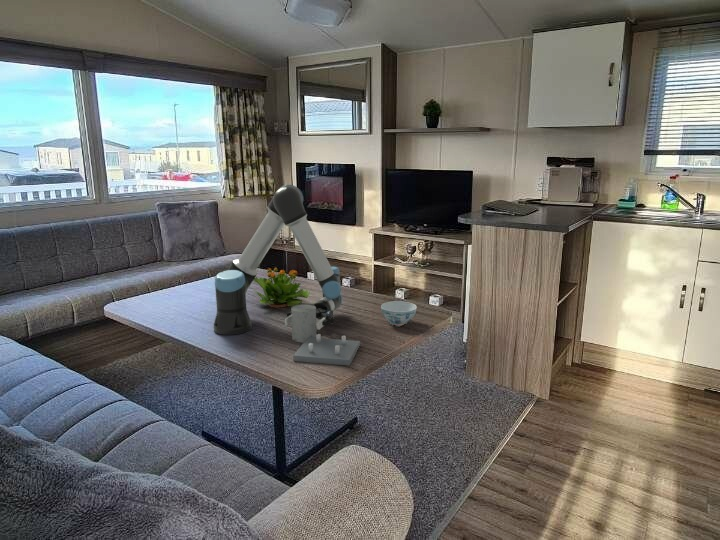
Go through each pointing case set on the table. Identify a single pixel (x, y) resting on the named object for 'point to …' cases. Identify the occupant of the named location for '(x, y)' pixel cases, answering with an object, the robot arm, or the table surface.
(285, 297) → the potted flower
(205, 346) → the table surface
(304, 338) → the grey marbled cylinder
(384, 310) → the chinaware
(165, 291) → the table surface
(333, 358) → the stub board
